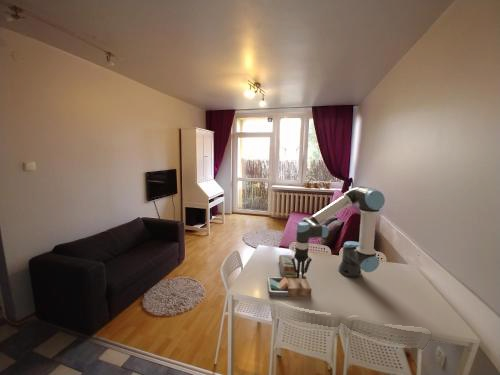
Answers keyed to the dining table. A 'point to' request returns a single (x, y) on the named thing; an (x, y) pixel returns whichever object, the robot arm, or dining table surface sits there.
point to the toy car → (286, 265)
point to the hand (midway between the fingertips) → (299, 282)
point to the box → (274, 292)
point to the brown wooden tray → (298, 286)
